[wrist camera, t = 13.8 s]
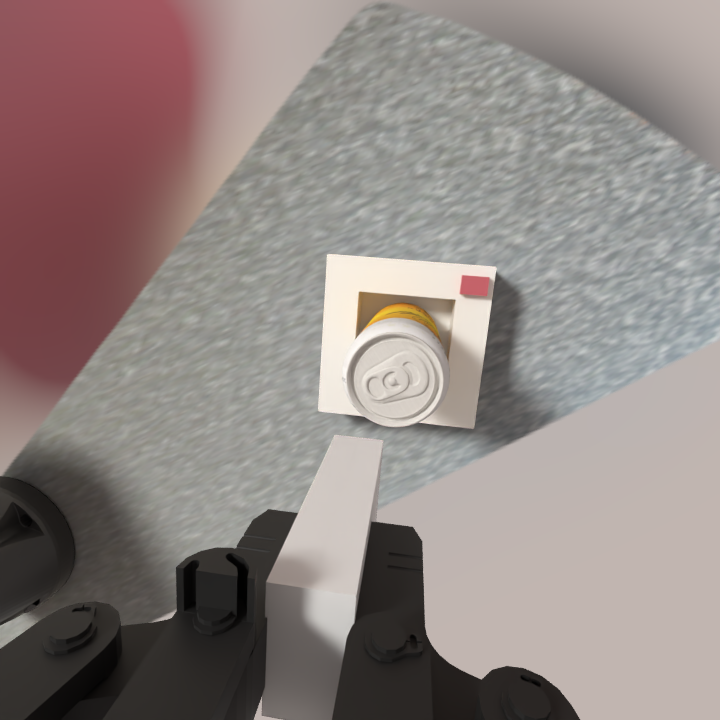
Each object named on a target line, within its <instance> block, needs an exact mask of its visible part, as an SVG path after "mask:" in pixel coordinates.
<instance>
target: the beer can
mask: <svg viewBox="0 0 720 720" xmlns="http://www.w3.org/2000/svg"><path fill="white" fill-rule="evenodd" d="M342 381H343V386H344V390H345V393H346V395H347V397H348V399H349V401H350V402H351V404H352V405H353V406H354V408H355V409H356V410H357V411H358V412H359V413H360V414H361V415H363V416H364V417H365V418H367V419H369V420H370V421H372V422H374V423H377V424H379V425H382V426H387V427H404V426H409V425H413V424H416V423H419V422H421V421H423V420H425V419H426V418H428V417H429V416H430V415H432V414H433V413H434V412H435V411H436V410H437V409H438V408H439V406H440V405H441V404H442V402H443V400H444V398H445V396H446V394H447V391H448V388H449V382H450V368H449V363H448V360H447V357H446V354H445V351H444V348H443V345H442V342H441V339H440V336H439V333H438V330H437V327H436V324H435V322H434V320H433V319H432V317H431V316H430V315H429V314H428V313H427V312H426V311H425V310H423V309H422V308H420V307H418V306H416V305H413V304H409V303H396V304H392V305H389V306H386V307H385V308H383V309H381V310H380V311H379V312H378V313H377V314H376V315H375V316H374V317H373V318H372V320H371V321H370V322H369V323H368V325H367V326H366V327H365V328H364V329H363V331H362V332H361V333H360V334H359V336H358V337H357V338H356V339H355V340H354V342H353V343H352V344H351V346H350V347H349V349H348V351H347V353H346V355H345V358H344V362H343V366H342Z"/></svg>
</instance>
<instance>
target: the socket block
mask: <svg viewBox="0 0 720 720" xmlns="http://www.w3.org/2000/svg"><path fill="white" fill-rule="evenodd" d="M496 268H497V267H491V266H478V265H465V264H452V263H439V262H426V261H413V260H400V259H387V258H374V257H361V256H348V255H335V254H327V268H326V285H325V302H324V319H323V337H322V354H321V371H320V388H319V405H318V411H321V412H330V413H339V414H347V415H356V416H363V415H361V414H360V413H359V412H358V411H357V410H356V409H355V408H354V406H353V405H352V404H351V402H350V401H349V399H348V397H347V395H346V393H345V390H344V386H343V381H342V366H343V362H344V358H345V355H346V353H347V351H348V349H349V347H350V346H351V344H352V343H353V342H354V340H355V339H356V338H357V337H358V336H359V334H360V333H361V332H362V331H363V329H364V328H365V327H366V326H367V325H368V323H369V322H370V321H371V320H372V318H373V317H374V316H375V315H376V314H377V313H378V312H379V311H380V310H381V309H383V308H385V307H386V306H389V305H392V304H396V303H409V304H413V305H416V306H418V307H420V308H422V309H423V310H425V311H426V312H427V313H428V314H429V315H430V316H431V317H432V319H433V320H434V322H435V324H436V327H437V330H438V333H439V336H440V339H441V342H442V345H443V348H444V351H445V354H446V357H447V360H448V363H449V368H450V382H449V388H448V391H447V394H446V396H445V398H444V400H443V402H442V404H441V405H440V406H439V408H438V409H437V410H436V411H435V412H434V413H433V414H432V415H430V416H429V417H428V418H426V419H425V420H423V421H421V422H419V423H426V424H435V425H444V426H453V427H461V428H470V429H474V425H475V418H476V411H477V404H478V397H479V390H480V382H481V375H482V368H483V361H484V354H485V347H486V339H487V332H488V325H489V318H490V311H491V304H492V296H493V289H494V282H495V275H496Z"/></svg>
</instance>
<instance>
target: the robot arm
mask: <svg viewBox="0 0 720 720" xmlns="http://www.w3.org/2000/svg"><path fill="white" fill-rule="evenodd" d="M382 450H383V440H377V439H368V438H360V437H351V436H342V435H335V436H334V438H333V440H332V442H331V444H330V446H329V448H328V451H327V453H326V455H325V457H324V459H323V461H322V463H321V465H320V468H319V470H318V472H317V474H316V476H315V478H314V480H313V483H312V485H311V487H310V489H309V491H308V493H307V495H306V498H305V500H304V502H303V504H302V506H301V508H300V510H299V513H292V512H285V511H277V510H270V509H268V510H267V511H266V512H264V513H263V514H261V515H260V516H258V517H257V518H255V519H254V520H253V521H252V522H251V524H250V526H249V527H248V529H247V530H246V532H245V534H244V537H242V538H241V540H240V541H239V543H238V545H237V548H235V549H234V548H213V549H208V550H204V551H200V552H198V553H196V554H194V555H192V556H190V557H188V558H186V559H185V560H184V561H183V562H182V563H181V564H179V565H178V566H177V567H176V586H177V611H176V613H175V614H174V616H173V617H172V618H171V619H168V620H164V621H159V622H153V623H144V624H135V625H127V626H121V622H120V618H119V614H118V611H117V610H115V609H114V608H113V607H112V606H110V605H109V604H104V603H99V602H87V603H78V604H75V605H72V606H69V607H66V608H63V609H60V610H58V611H56V612H54V613H52V614H51V615H49V616H47V617H45V618H44V619H42V620H40V621H39V622H38V623H36V624H35V625H33V626H32V627H31V628H29V629H28V630H26V631H25V632H24V633H22V634H21V635H19V636H18V637H16V638H15V639H14V640H12V641H11V642H9V643H8V644H7V645H5V646H4V647H2V648H1V649H0V720H254V717H255V714H256V711H257V708H258V705H259V703H260V700H261V697H262V716H267V717H272V718H278V719H284V720H580V719H579V717H578V715H577V714H576V712H575V710H574V709H573V707H572V706H571V704H570V703H569V702H568V700H567V699H566V698H565V697H564V695H563V694H562V693H561V692H560V690H559V689H558V688H556V687H555V686H554V685H552V684H551V683H550V682H549V681H547V680H546V679H545V678H543V677H542V676H540V675H538V674H535V673H533V672H531V671H529V670H526V669H524V668H518V667H509V666H505V667H502V668H498V669H494V670H492V671H490V672H489V673H488V674H487V675H486V676H485V677H484V678H483V679H482V680H481V679H478V678H476V677H474V676H472V675H470V674H468V673H466V672H463V671H461V670H459V669H458V668H456V667H454V666H453V665H451V664H449V663H448V662H447V661H446V660H445V659H443V658H442V657H441V656H440V655H439V654H438V653H437V652H436V650H435V649H434V648H433V646H432V645H431V643H430V641H429V639H428V637H427V635H426V630H425V617H424V616H425V615H424V583H423V560H422V559H423V552H422V541H421V539H420V537H419V536H418V534H417V533H416V531H415V529H414V528H413V527H409V526H402V525H394V524H386V523H379V522H376V516H377V505H378V494H379V483H380V472H381V461H382ZM73 564H74V544H73V539H72V535H71V532H70V530H69V527H68V525H67V523H66V521H65V519H64V518H63V516H62V515H61V513H60V512H59V510H58V509H57V508H56V507H55V505H54V504H53V503H52V502H51V501H50V500H49V499H48V498H47V497H46V496H44V495H43V494H42V493H41V492H39V491H38V490H36V489H35V488H33V487H32V486H30V485H28V484H26V483H24V482H21V481H19V480H16V479H12V478H8V477H1V476H0V625H2V624H4V623H6V622H8V621H10V620H12V619H14V618H16V617H18V616H20V615H22V614H23V613H26V612H29V611H31V610H33V609H35V608H37V607H38V606H40V605H41V604H43V603H44V602H45V601H47V600H48V599H49V598H50V597H51V596H52V595H53V594H54V593H55V592H57V591H58V590H59V589H60V588H61V587H62V586H63V585H64V584H65V582H66V581H67V579H68V578H69V576H70V574H71V571H72V568H73Z"/></svg>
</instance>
